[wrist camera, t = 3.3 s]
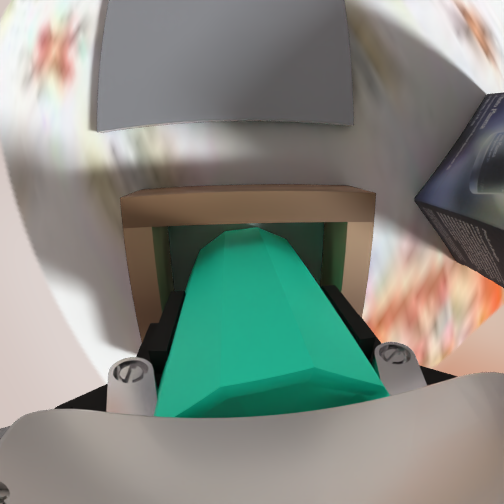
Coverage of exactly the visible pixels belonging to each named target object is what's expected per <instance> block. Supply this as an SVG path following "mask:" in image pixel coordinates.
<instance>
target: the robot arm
mask: <svg viewBox="0 0 504 504" xmlns="http://www.w3.org/2000/svg"><path fill="white" fill-rule="evenodd" d="M321 290H322V291H323V293H324V294H325V296H326V297H327V298H328V300H329V301H330V303H331V304H332V306H333V307H334V309H335V310H336V312H337V313H338V315H339V316H340V318H341V319H342V321H343V323H344V324H345V326H346V327H347V329H348V330H349V332H350V333H351V335H352V336H353V338H354V339H355V341H356V342H357V344H358V345H359V347H360V348H361V350H362V351H363V353H364V354H365V356H366V358H367V359H368V361H369V362H370V364H371V365H372V367H373V369H374V370H375V372H376V373H377V375H378V377H379V378H380V380H381V381H382V383H383V385H384V386H385V388H386V389H387V391H388V393H389V394H390V396H388V397H383V398H379V399H374V400H370V401H365V402H360V403H355V404H350V405H345V406H339V407H333V408H327V409H321V410H314V411H306V412H298V413H289V414H279V415H268V416H253V417H231V418H180V417H158V416H154V412H155V408H156V404H157V398H158V388H159V384H160V381H161V377H162V373H163V370H164V367H165V365H166V362H167V359H168V356H169V352H170V349H171V346H172V342H173V338H174V335H175V331H176V327H177V324H178V320H179V316H180V313H181V309H182V306H183V302H184V299H185V295H186V293H185V291H171V292H170V295H169V297H168V300H167V302H166V305H165V307H164V310H163V312H162V315H161V318H160V320H159V323H150V325H149V327H148V330H147V332H146V334H145V337H144V339H143V342H142V344H141V347H140V349H139V351H138V354H137V356H136V357H130V358H125V359H122V360H120V361H118V362H116V363H115V364H113V365H112V367H111V368H110V370H109V373H108V384H106V385H104V386H102V387H99V388H97V389H95V390H93V391H91V392H88V393H86V394H84V395H82V396H80V397H77V398H75V399H73V400H70V401H68V402H66V403H63V404H61V405H59V406H57V407H56V408H55V409H51V410H43V411H37V412H33V413H29V414H26V415H24V416H22V417H20V418H19V419H18V420H17V421H15V422H14V423H13V424H12V425H11V426H8V427H5V428H1V429H0V504H504V374H503V373H496V372H481V373H474V374H468V375H464V376H460V377H457V376H454V375H451V374H447V373H443V372H440V371H436V370H433V369H430V368H426V367H423V366H420V365H419V364H418V361H417V359H416V356H415V354H414V352H413V351H412V350H411V349H410V348H409V347H408V346H406V345H404V344H400V343H397V342H385V343H382V344H381V342H380V341H379V340H378V338H377V337H376V336H375V335H374V333H373V332H372V331H371V329H370V328H369V327H368V325H367V324H366V323H365V322H364V320H363V319H362V318H361V316H360V315H359V314H358V313H357V312H356V311H355V309H354V308H353V307H352V306H351V304H350V303H349V302H348V300H347V299H346V298H345V297H344V295H343V294H342V293H341V292H340V290H339V289H338V288H337V287H336V286H335V285H326V286H321Z"/></svg>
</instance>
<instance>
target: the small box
mask: <svg viewBox="0 0 504 504" xmlns="http://www.w3.org/2000/svg"><path fill="white" fill-rule="evenodd" d="M415 202H416V204H417V205H418V206H419V208H420V209H421V211H422V212H423V213H424V215H425V216H426V218H427V219H428V220H429V221H430V223H431V224H432V226H433V227H434V229H435V230H436V232H437V233H438V234H439V236H440V237H441V239H442V240H443V242H444V243H445V244H446V246H447V247H448V249H449V251H450V252H451V254H452V255H453V257H454V258H455V260H456V261H457V262H458V263H460V264H462V265H465V266H468V267H469V268H471V269H473V270H474V271H477V272H478V273H480V274H481V275H483V276H484V277H486V278H488V279H490V280H492V281H493V282H495V283H497V284H498V285H500V286H501V287H503V288H504V93H495V94H487V95H486V97H485V98H484V100H483V102H482V103H481V105H480V107H479V108H478V110H477V111H476V113H475V115H474V116H473V118H472V119H471V121H470V122H469V124H468V125H467V127H466V129H465V130H464V132H463V133H462V134H461V136H460V137H459V139H458V140H457V142H456V143H455V145H454V146H453V147H452V149H451V150H450V152H449V153H448V155H447V156H446V157H445V159H444V160H443V162H442V163H441V164H440V166H439V167H438V168H437V170H436V171H435V172H434V174H433V175H432V176H431V178H430V179H429V181H428V182H427V183H426V184H425V186H424V187H423V188H422V190H421V191H420V192H419V194H418V195H417V196H416V197H415Z"/></svg>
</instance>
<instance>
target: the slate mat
mask: <svg viewBox="0 0 504 504" xmlns="http://www.w3.org/2000/svg"><path fill="white" fill-rule="evenodd" d="M218 121H283V122H305V123H320V124H333V125H343V126H352V125H354V111H353V85H352V68H351V55H350V43H349V33H348V24H347V16H346V8H345V1H344V0H109V3H108V8H107V14H106V20H105V27H104V34H103V41H102V50H101V59H100V70H99V85H98V106H97V132H100V133H104V132H111V131H117V130H124V129H132V128H140V127H149V126H158V125H169V124H181V123H197V122H218Z"/></svg>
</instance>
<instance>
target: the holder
mask: <svg viewBox="0 0 504 504" xmlns="http://www.w3.org/2000/svg"><path fill="white" fill-rule="evenodd" d="M375 199H376V193H374V192H370V191H366V190H363V189H359V188H355V187H352V186H344V185H305V184H251V185H212V186H189V187H171V188H155V189H142V190H139V191H136V192H134V193H131V194H129V195H126V196H123V197H121V198H120V202H121V214H122V224H123V233H124V242H125V250H126V257H127V264H128V271H129V278H130V284H131V290H132V295H133V301H134V306H135V312H136V317H137V322H138V326H139V331H140V336H141V340H142V342H143V339H144V337H145V334H146V332H147V330H148V327H149V325H150V323H159V320H160V318H161V315H162V312H163V310H164V307H165V305H166V302H167V300H168V297H169V295H170V292H171V291H174V284H173V275H172V266H171V255H170V244H169V232H168V226H183V225H210V224H243V223H292V222H324V239H323V255H322V269H321V282H320V288H321V286H326V285H335V286H336V287H337V288H338V289H339V290H340V292H341V293H342V294H343V295H344V297H345V298H346V299H347V300H348V302H349V303H350V304H351V306H352V307H353V308H354V309H355V311H356V312H357V313H358V314H359V315H360V316H361V318H362V313H363V307H364V301H365V294H366V288H367V281H368V273H369V265H370V257H371V248H372V238H373V227H374V214H375Z"/></svg>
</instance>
